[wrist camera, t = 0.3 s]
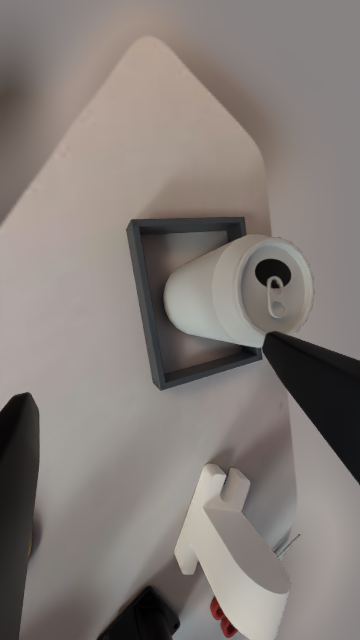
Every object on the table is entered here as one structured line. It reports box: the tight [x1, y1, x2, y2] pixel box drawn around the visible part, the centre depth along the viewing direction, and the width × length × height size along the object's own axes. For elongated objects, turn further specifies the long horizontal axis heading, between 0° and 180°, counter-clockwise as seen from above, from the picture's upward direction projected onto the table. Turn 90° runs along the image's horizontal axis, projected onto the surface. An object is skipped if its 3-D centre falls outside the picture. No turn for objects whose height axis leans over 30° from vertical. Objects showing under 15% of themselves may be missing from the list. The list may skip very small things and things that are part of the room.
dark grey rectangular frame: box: [126, 217, 262, 391], centre depth 24 cm, size 15×12×2 cm
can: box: [163, 234, 315, 348], centre depth 20 cm, size 8×8×12 cm
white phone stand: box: [174, 463, 291, 640], centre depth 22 cm, size 5×10×10 cm, turn 157°
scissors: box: [210, 534, 300, 638], centre depth 29 cm, size 5×14×1 cm, turn 117°
